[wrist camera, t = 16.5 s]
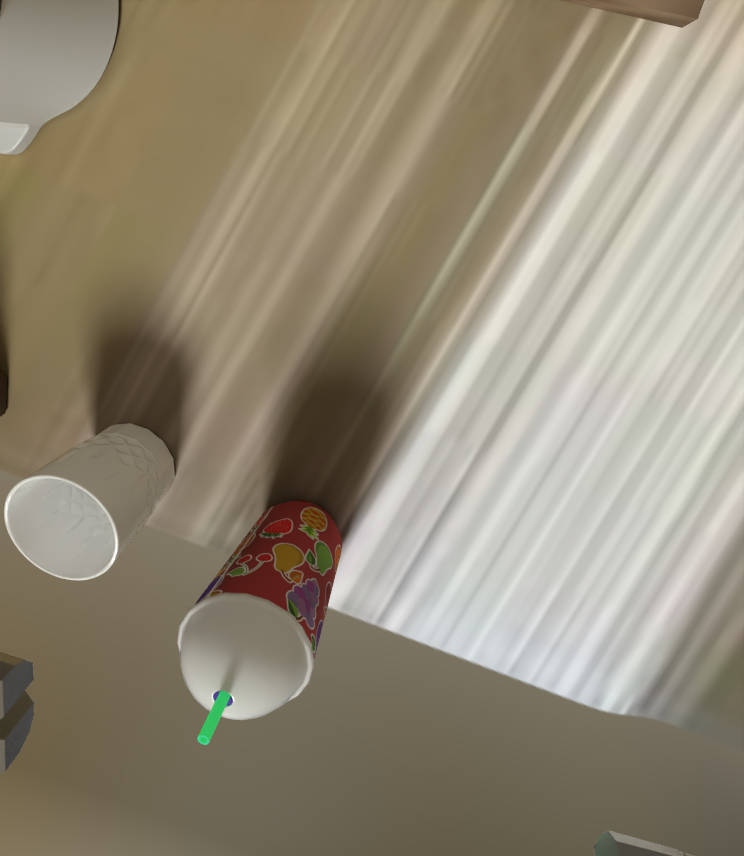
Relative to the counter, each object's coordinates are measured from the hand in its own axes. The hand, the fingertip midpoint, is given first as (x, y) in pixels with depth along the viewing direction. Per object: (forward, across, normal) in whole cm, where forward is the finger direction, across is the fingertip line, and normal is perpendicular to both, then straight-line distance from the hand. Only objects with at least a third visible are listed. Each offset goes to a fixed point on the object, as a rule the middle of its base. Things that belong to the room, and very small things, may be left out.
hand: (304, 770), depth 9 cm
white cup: (+37, +20, +20) cm, 47 cm away
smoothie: (+37, +6, +22) cm, 44 cm away
